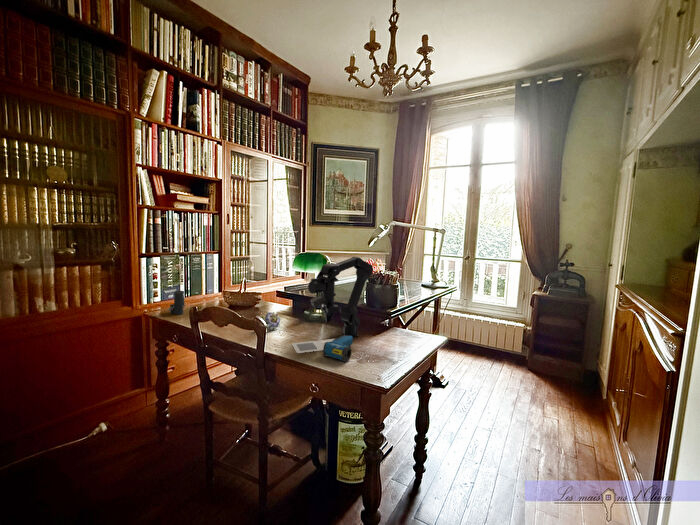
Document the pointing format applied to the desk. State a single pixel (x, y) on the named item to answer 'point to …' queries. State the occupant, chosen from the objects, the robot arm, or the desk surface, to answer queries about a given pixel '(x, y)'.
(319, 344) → the label panel
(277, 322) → the passion flower
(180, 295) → the scope
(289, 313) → the desk surface
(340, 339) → the infrared thermometer
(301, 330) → the desk surface
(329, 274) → the robot arm
